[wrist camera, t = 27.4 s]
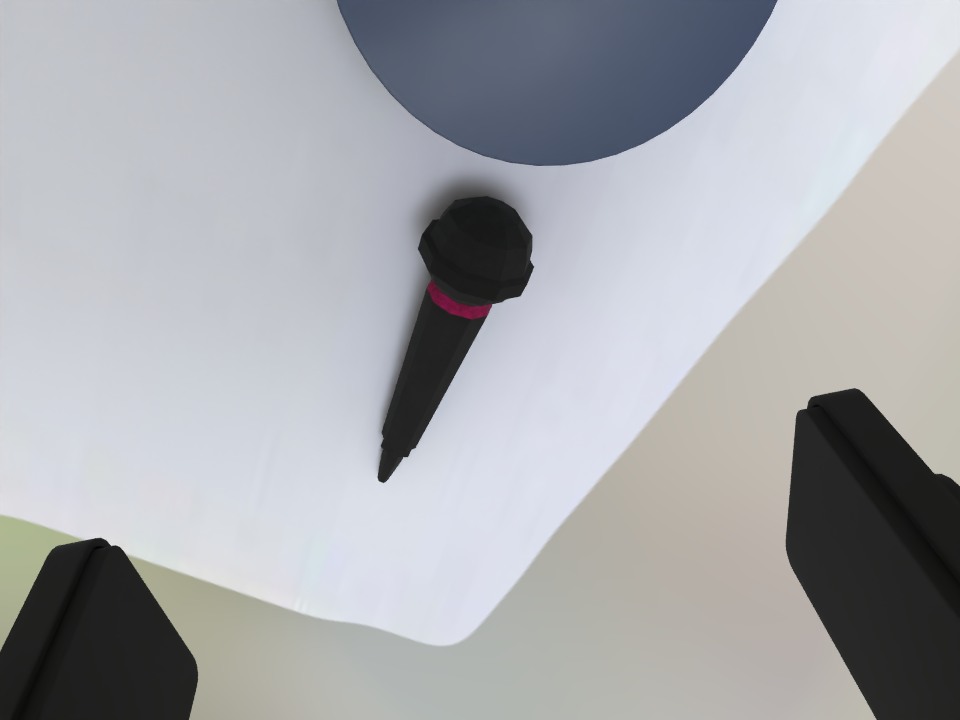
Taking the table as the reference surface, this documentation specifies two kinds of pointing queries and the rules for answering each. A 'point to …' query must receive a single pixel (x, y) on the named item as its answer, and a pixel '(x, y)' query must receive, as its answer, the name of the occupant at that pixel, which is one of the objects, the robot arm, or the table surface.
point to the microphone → (453, 309)
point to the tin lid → (553, 68)
